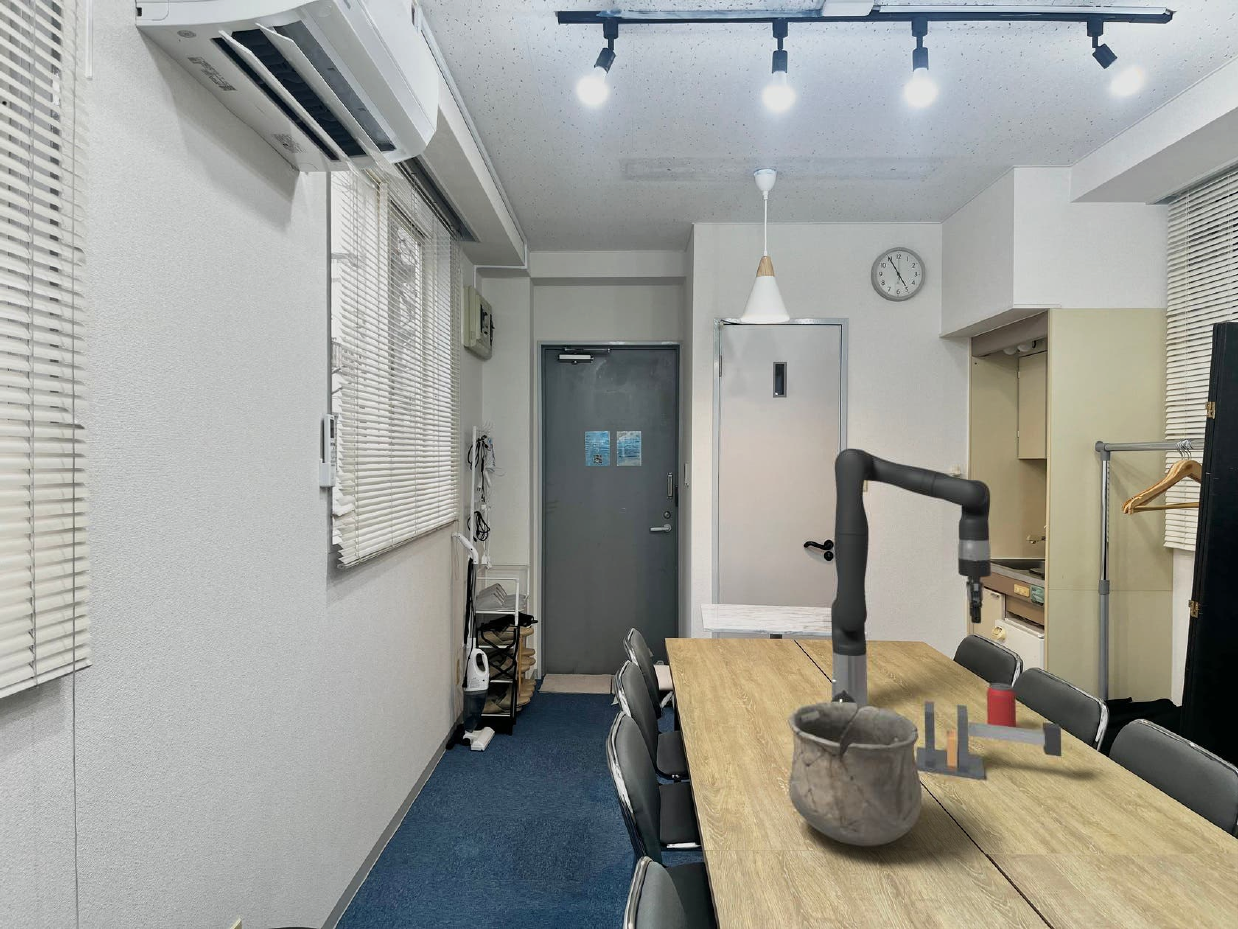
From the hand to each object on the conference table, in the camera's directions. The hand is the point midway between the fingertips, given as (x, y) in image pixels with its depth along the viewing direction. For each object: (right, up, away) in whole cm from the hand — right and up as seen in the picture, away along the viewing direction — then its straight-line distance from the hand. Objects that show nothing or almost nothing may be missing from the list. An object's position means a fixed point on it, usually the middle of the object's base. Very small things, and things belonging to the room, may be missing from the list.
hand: (975, 619), depth 181 cm
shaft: (-3, -24, -23) cm, 33 cm away
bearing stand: (-15, -30, -18) cm, 38 cm away
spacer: (-15, -29, -18) cm, 37 cm away
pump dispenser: (-38, -31, -12) cm, 50 cm away
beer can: (+8, -30, +3) cm, 31 cm away
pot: (-48, -30, -48) cm, 74 cm away
